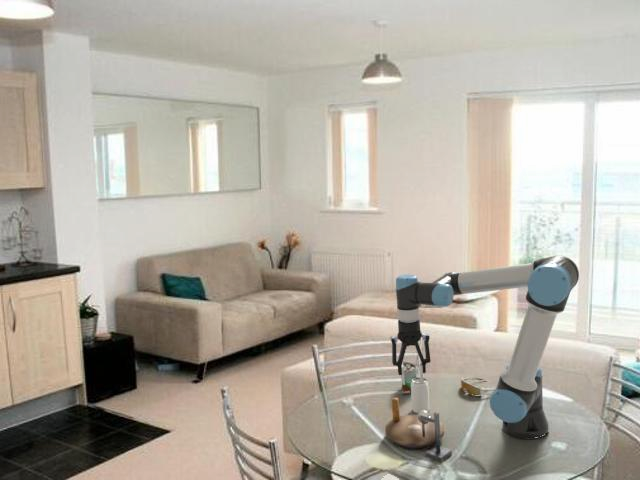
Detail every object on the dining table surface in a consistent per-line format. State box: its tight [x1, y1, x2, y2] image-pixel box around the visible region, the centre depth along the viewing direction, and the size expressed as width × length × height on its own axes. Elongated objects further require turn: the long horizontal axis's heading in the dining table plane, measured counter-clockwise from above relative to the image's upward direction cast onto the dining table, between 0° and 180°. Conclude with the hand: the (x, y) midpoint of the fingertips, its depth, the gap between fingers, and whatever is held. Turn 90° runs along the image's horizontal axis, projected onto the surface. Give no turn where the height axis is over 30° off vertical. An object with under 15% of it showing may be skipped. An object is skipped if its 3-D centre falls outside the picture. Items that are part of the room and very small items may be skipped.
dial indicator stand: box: [417, 410, 453, 463], centre depth 211 cm, size 10×6×14 cm, turn 46°
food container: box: [401, 361, 419, 396], centre depth 262 cm, size 12×6×10 cm, turn 168°
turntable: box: [384, 397, 445, 446], centre depth 222 cm, size 20×20×10 cm
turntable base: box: [391, 441, 436, 451], centre depth 223 cm, size 16×16×2 cm
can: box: [410, 377, 430, 415], centre depth 243 cm, size 6×6×12 cm
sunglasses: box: [460, 377, 496, 396], centre depth 258 cm, size 14×15×5 cm
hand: (412, 382), depth 229 cm, fingers open, 6 cm apart
